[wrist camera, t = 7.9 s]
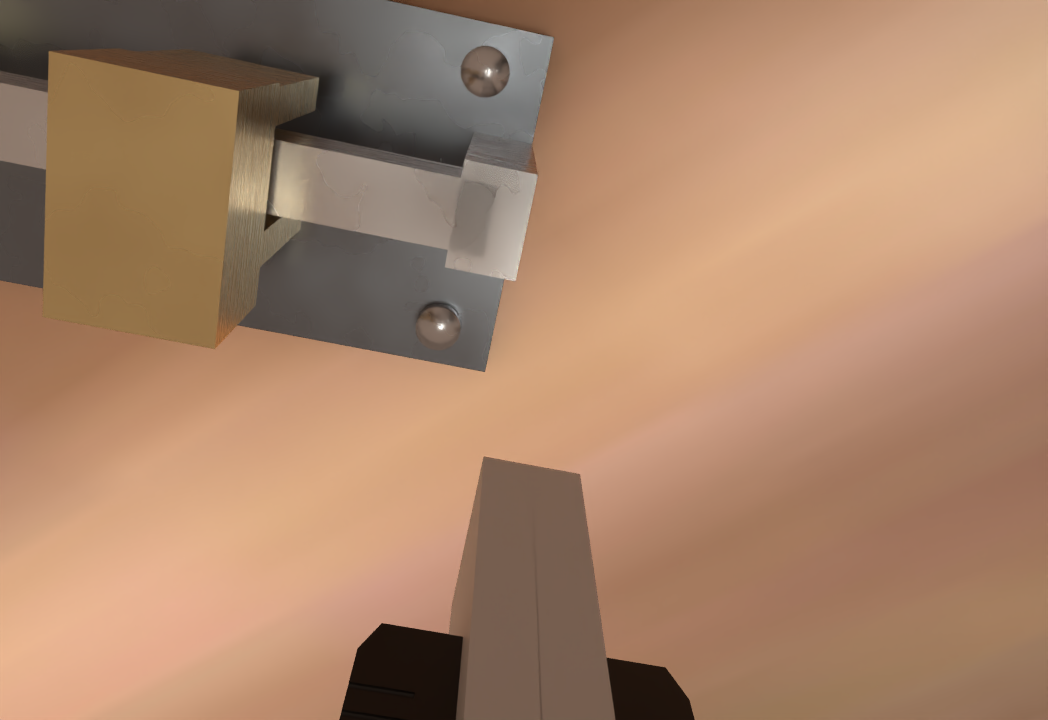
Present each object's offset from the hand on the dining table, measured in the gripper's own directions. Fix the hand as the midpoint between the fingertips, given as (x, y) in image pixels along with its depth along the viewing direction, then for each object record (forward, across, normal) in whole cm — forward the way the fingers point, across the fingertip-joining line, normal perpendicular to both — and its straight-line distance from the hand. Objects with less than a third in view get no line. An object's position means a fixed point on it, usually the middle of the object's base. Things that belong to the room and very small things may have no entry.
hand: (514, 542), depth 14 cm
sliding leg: (+18, -9, +1) cm, 21 cm away
